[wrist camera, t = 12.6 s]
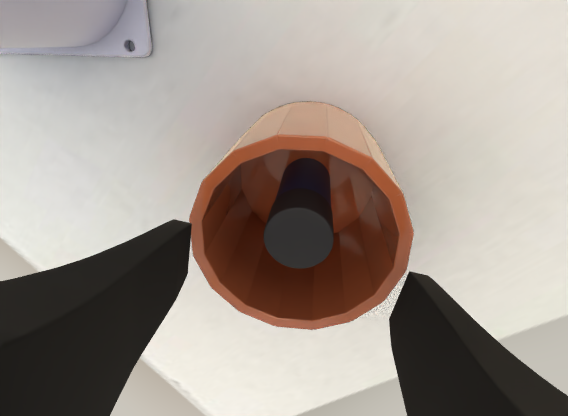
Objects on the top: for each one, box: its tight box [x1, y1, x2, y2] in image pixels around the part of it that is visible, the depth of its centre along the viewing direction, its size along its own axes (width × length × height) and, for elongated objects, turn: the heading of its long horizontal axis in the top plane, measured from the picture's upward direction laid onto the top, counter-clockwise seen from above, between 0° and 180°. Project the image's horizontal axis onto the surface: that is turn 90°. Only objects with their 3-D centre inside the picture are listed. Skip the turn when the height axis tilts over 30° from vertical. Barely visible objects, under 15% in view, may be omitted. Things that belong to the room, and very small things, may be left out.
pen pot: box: [189, 101, 414, 330], centre depth 17 cm, size 8×8×8 cm
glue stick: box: [264, 158, 334, 269], centre depth 16 cm, size 3×3×6 cm
